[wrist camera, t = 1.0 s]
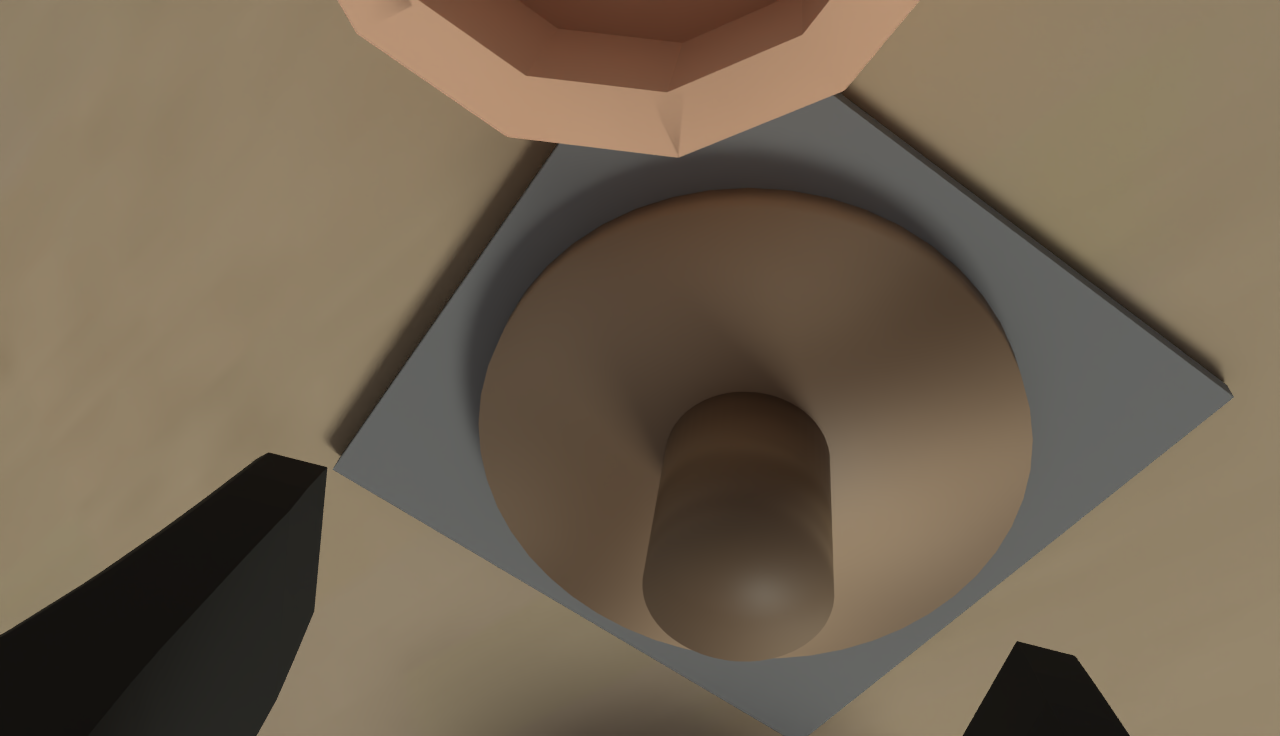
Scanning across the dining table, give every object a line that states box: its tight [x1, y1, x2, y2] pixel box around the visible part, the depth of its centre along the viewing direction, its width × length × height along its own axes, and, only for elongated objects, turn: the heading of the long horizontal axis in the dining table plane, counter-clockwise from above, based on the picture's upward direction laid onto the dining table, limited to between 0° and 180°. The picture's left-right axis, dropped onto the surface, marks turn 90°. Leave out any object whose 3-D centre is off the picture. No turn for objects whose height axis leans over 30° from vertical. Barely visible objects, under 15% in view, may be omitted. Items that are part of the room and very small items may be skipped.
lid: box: [479, 188, 1033, 662], centre depth 20 cm, size 10×10×4 cm
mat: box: [333, 93, 1234, 736], centre depth 22 cm, size 12×12×1 cm
